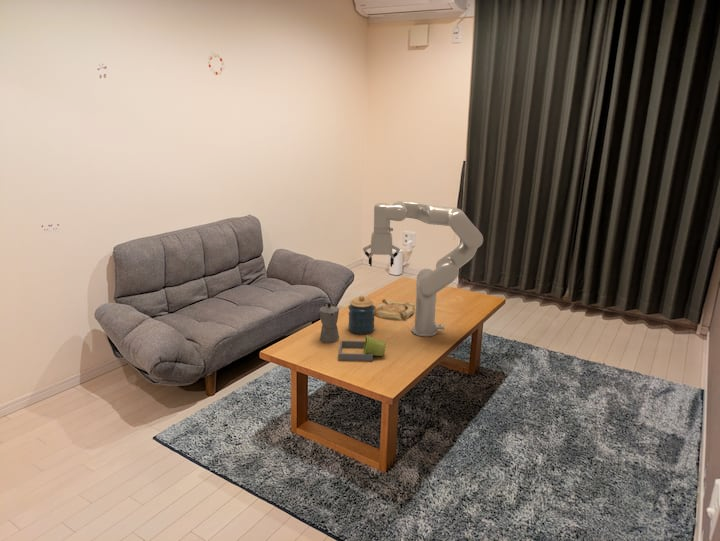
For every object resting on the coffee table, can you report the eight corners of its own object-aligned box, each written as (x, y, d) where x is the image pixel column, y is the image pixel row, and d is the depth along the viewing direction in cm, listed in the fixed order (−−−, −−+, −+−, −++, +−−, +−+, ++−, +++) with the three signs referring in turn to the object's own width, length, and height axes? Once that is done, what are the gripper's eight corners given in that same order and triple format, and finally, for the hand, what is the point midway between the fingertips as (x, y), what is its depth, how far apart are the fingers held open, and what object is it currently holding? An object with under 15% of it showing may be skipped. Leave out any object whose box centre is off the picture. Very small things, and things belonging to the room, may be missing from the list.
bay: (373, 347, 235) (373, 341, 234) (372, 361, 222) (372, 354, 221) (340, 346, 235) (340, 340, 235) (338, 360, 222) (338, 354, 222)
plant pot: (387, 337, 223) (368, 334, 222) (384, 359, 221) (364, 355, 220) (384, 339, 232) (365, 336, 231) (381, 360, 230) (362, 356, 229)
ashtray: (425, 313, 277) (426, 304, 276) (396, 325, 261) (396, 316, 259) (392, 301, 293) (392, 293, 292) (363, 312, 277) (363, 304, 275)
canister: (373, 335, 248) (374, 300, 243) (347, 334, 249) (347, 300, 244) (374, 324, 260) (375, 291, 255) (349, 323, 261) (349, 291, 256)
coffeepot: (342, 343, 239) (342, 307, 233) (322, 345, 236) (322, 309, 231) (335, 330, 253) (334, 296, 248) (316, 332, 250) (315, 297, 245)
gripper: (400, 229, 242) (399, 263, 247) (363, 228, 242) (363, 263, 247) (400, 232, 235) (399, 268, 240) (362, 231, 235) (362, 267, 240)
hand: (381, 265), depth 243 cm, fingers open, 9 cm apart
